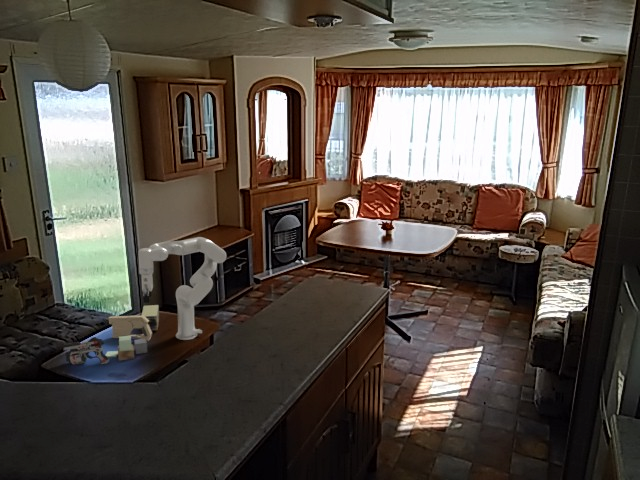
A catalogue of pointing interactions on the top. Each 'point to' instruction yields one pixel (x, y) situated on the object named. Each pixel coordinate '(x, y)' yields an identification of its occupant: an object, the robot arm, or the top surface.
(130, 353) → the walnut base
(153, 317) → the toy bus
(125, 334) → the gun
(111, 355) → the sage tile
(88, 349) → the toy blaster
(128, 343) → the sage cube
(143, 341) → the grey cube
